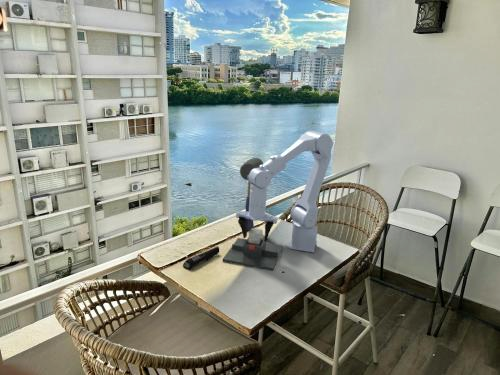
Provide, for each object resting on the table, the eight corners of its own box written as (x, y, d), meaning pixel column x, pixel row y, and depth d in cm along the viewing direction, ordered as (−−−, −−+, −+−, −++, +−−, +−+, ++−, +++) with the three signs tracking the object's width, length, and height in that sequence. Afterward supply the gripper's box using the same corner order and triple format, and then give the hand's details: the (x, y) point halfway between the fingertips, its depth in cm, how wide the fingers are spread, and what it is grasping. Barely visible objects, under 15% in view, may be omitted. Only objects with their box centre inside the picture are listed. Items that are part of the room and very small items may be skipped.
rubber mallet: (244, 222, 158) (248, 155, 149) (261, 224, 156) (265, 157, 147) (235, 233, 147) (238, 161, 138) (253, 236, 145) (257, 163, 136)
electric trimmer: (221, 255, 129) (222, 247, 128) (189, 271, 117) (189, 262, 116) (214, 252, 131) (214, 244, 130) (181, 267, 119) (181, 258, 118)
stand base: (283, 247, 136) (284, 235, 135) (273, 271, 120) (274, 257, 118) (238, 240, 141) (238, 228, 139) (222, 261, 124) (222, 248, 123)
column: (261, 249, 131) (262, 229, 129) (258, 254, 128) (259, 234, 125) (250, 248, 132) (251, 228, 130) (247, 252, 129) (248, 232, 126)
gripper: (234, 203, 122) (232, 240, 126) (275, 209, 119) (272, 246, 123) (240, 197, 129) (238, 232, 133) (279, 203, 125) (276, 238, 129)
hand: (255, 238), depth 128 cm, fingers open, 7 cm apart
